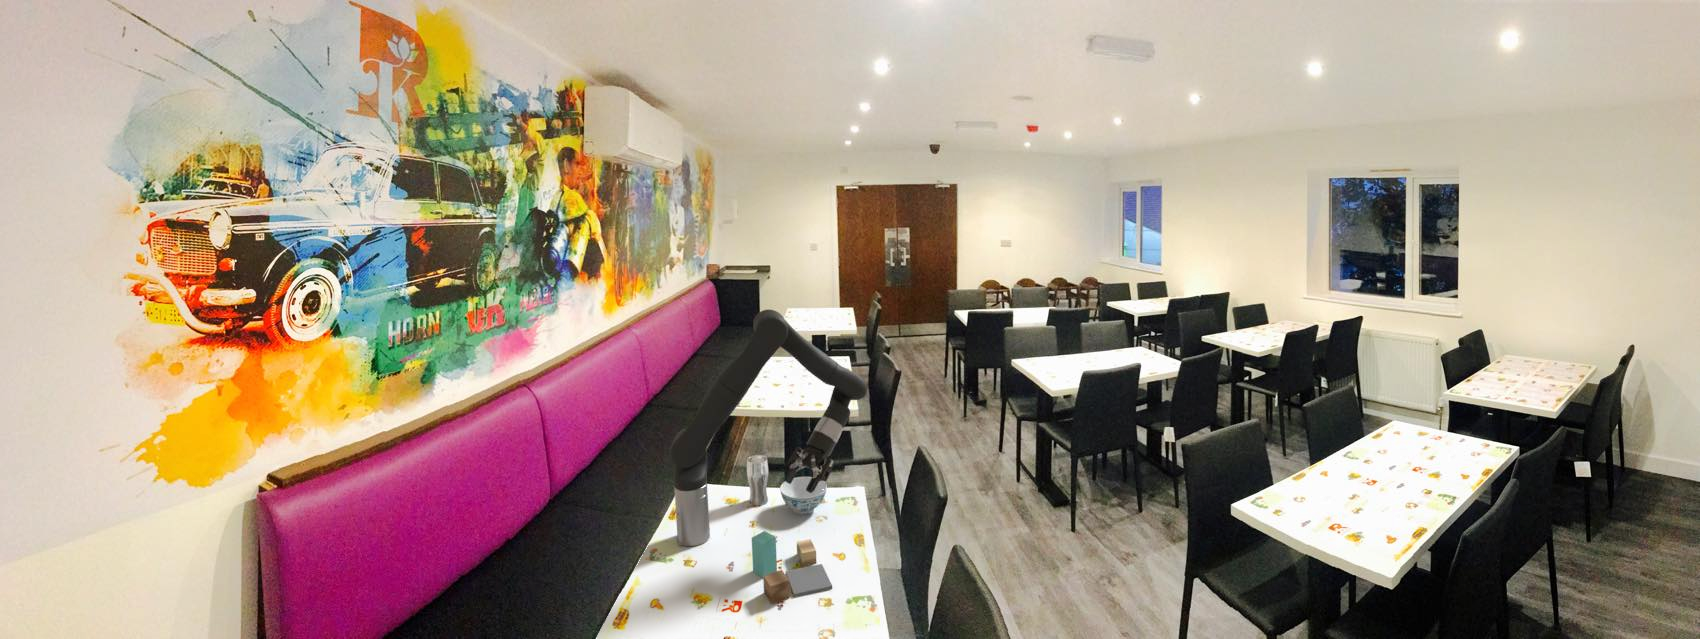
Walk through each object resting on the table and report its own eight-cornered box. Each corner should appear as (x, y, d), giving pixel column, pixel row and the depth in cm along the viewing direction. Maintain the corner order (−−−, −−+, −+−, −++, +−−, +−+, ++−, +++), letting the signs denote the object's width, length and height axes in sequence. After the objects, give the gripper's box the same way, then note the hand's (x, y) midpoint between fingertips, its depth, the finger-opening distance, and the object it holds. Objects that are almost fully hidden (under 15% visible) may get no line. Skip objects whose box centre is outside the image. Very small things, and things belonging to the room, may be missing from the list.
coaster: (794, 596, 148) (794, 593, 148) (785, 573, 158) (785, 571, 158) (832, 588, 152) (832, 585, 151) (821, 566, 161) (821, 563, 161)
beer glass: (765, 507, 193) (763, 464, 190) (745, 505, 194) (743, 462, 191) (772, 497, 200) (770, 455, 197) (752, 495, 201) (750, 454, 198)
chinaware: (825, 521, 184) (825, 498, 183) (777, 521, 184) (777, 498, 183) (828, 498, 199) (828, 476, 197) (783, 498, 199) (783, 476, 198)
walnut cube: (771, 604, 146) (770, 586, 145) (764, 593, 150) (763, 575, 149) (789, 598, 148) (789, 580, 147) (782, 587, 152) (781, 569, 151)
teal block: (764, 578, 156) (762, 543, 154) (753, 571, 159) (751, 537, 157) (776, 570, 159) (775, 536, 157) (766, 564, 162) (764, 530, 160)
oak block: (816, 563, 162) (816, 550, 162) (802, 566, 161) (801, 553, 160) (810, 551, 168) (810, 539, 167) (796, 554, 167) (796, 541, 166)
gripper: (801, 424, 174) (773, 474, 167) (836, 436, 164) (808, 489, 158) (814, 436, 178) (787, 485, 172) (849, 448, 169) (822, 500, 163)
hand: (797, 487), depth 165 cm, fingers open, 8 cm apart
